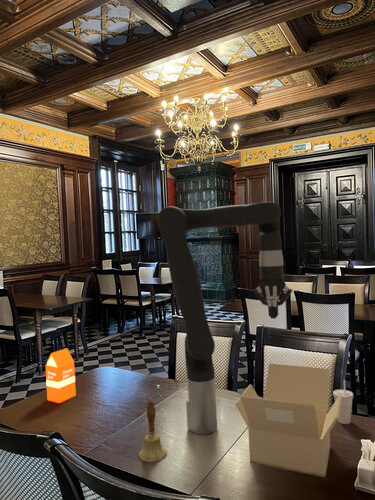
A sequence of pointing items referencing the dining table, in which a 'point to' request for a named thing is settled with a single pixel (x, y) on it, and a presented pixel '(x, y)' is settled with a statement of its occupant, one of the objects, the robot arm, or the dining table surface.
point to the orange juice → (60, 376)
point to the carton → (290, 446)
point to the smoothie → (344, 404)
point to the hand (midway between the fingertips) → (273, 317)
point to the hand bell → (152, 440)
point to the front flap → (281, 416)
